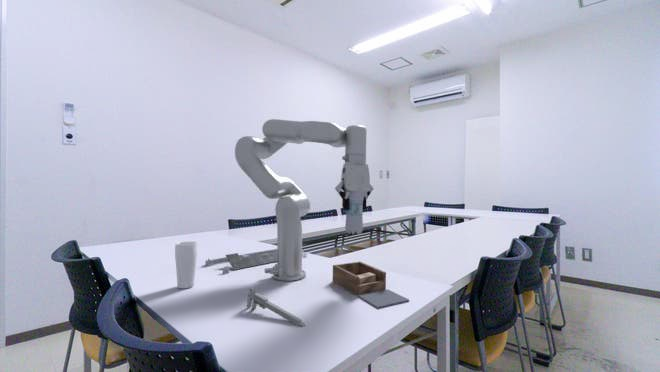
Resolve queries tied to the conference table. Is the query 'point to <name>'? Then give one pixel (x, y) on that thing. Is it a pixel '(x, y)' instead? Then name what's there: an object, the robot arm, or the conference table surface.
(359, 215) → the bottle
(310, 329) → the conference table surface
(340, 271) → the open wooden box
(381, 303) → the mat
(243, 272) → the conference table surface
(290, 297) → the conference table surface
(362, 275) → the offcut upper
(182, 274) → the drinking glass
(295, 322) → the caliper
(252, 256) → the paper cutter
